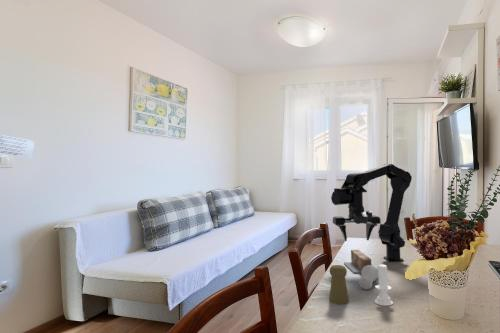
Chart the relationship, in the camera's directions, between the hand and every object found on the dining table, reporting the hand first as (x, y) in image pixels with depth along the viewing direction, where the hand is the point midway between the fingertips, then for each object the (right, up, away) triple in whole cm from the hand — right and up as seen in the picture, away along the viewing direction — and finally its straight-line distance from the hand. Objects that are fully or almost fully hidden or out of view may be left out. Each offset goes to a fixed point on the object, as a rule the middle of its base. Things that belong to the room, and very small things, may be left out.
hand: (356, 240), depth 153 cm
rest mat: (+1, -10, -4) cm, 11 cm away
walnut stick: (+1, -10, -4) cm, 11 cm away
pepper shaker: (-17, -11, -38) cm, 43 cm away
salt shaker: (0, -7, -18) cm, 20 cm away
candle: (-4, -11, -41) cm, 43 cm away
